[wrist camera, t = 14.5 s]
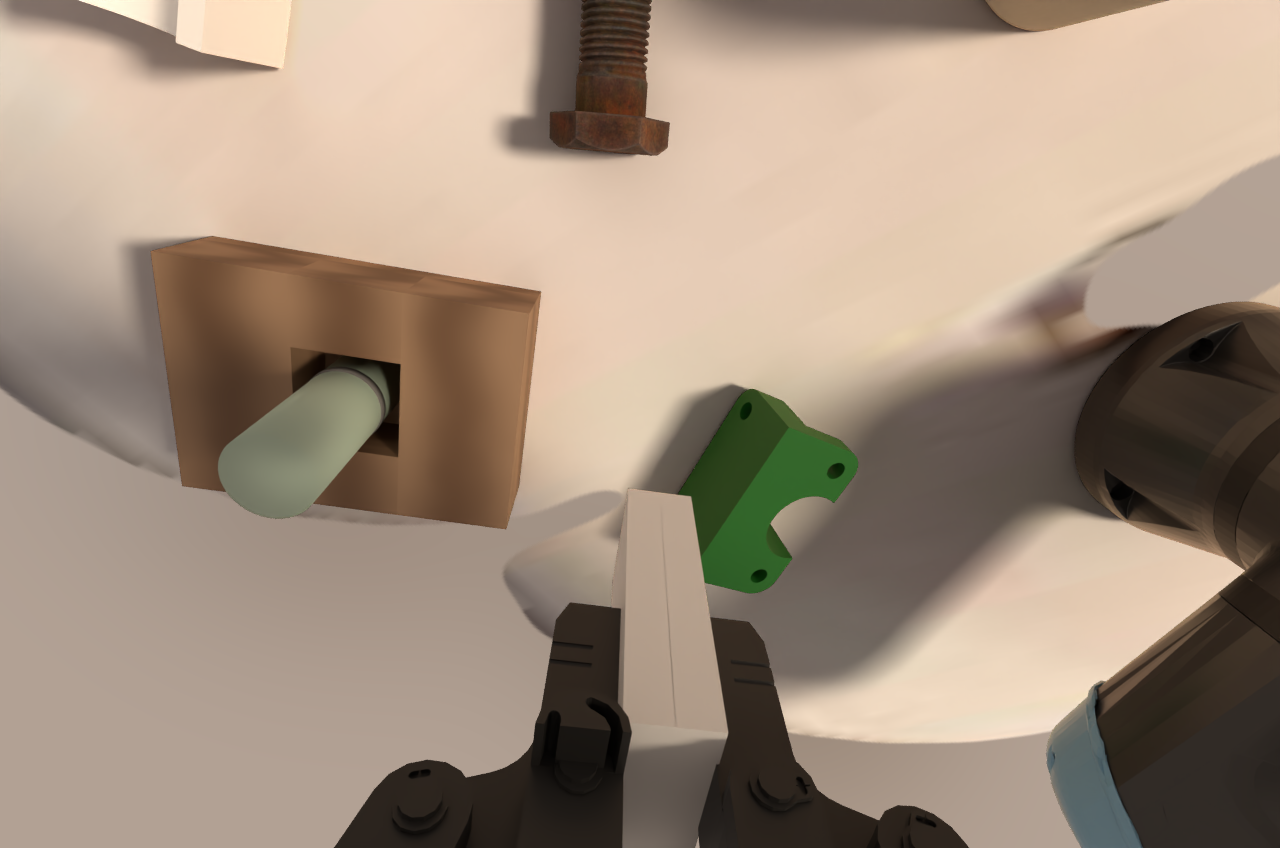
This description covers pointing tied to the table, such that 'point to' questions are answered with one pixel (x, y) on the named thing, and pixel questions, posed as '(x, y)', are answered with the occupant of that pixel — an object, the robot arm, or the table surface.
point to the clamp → (759, 488)
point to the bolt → (611, 84)
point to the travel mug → (1059, 11)
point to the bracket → (216, 25)
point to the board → (359, 327)
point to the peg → (309, 437)
